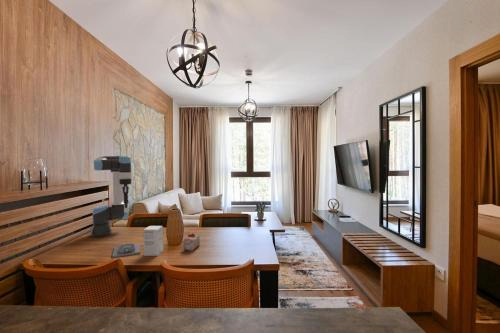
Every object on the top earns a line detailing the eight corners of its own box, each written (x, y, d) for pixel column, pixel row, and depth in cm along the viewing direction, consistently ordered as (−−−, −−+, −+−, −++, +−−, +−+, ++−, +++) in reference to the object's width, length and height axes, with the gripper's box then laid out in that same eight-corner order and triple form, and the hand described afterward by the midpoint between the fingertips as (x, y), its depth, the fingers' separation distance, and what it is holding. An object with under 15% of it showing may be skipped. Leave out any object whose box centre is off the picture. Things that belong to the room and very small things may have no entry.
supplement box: (149, 250, 173) (149, 225, 172) (163, 250, 173) (163, 225, 172) (143, 256, 163) (142, 229, 163) (158, 255, 163) (157, 229, 163)
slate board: (114, 249, 177) (114, 247, 177) (139, 245, 184) (139, 243, 184) (112, 257, 161) (112, 256, 161) (140, 253, 167) (140, 251, 167)
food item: (193, 251, 169) (193, 237, 169) (182, 251, 171) (181, 236, 170) (200, 245, 183) (200, 231, 183) (190, 244, 184) (189, 231, 184)
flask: (119, 249, 172) (119, 254, 163) (119, 245, 172) (118, 250, 163) (134, 247, 177) (135, 252, 167) (134, 243, 177) (135, 247, 167)
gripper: (119, 178, 185) (120, 211, 185) (118, 179, 173) (119, 214, 173) (131, 177, 188) (132, 210, 188) (131, 178, 176) (132, 213, 176)
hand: (126, 212), depth 181 cm, fingers closed
